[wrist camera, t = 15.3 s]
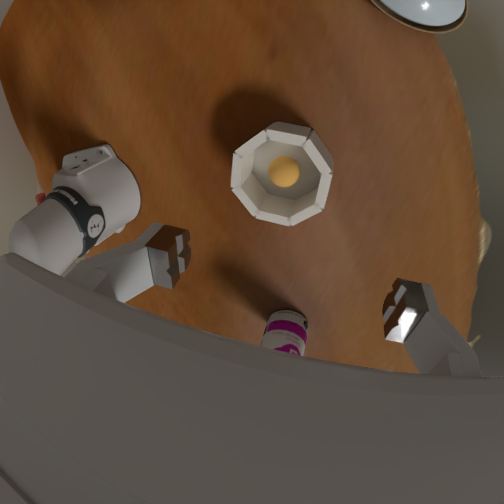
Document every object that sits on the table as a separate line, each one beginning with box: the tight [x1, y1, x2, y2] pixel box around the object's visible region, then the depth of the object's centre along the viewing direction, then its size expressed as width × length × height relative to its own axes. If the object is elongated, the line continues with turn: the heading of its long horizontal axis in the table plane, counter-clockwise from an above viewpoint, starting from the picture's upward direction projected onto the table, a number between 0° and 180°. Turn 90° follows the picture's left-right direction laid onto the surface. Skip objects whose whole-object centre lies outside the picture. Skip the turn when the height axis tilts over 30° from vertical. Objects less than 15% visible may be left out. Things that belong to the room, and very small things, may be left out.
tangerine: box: [268, 156, 300, 187], centre depth 34 cm, size 4×4×4 cm
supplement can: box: [260, 310, 309, 356], centre depth 48 cm, size 8×8×15 cm
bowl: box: [231, 122, 333, 226], centre depth 33 cm, size 12×12×6 cm
